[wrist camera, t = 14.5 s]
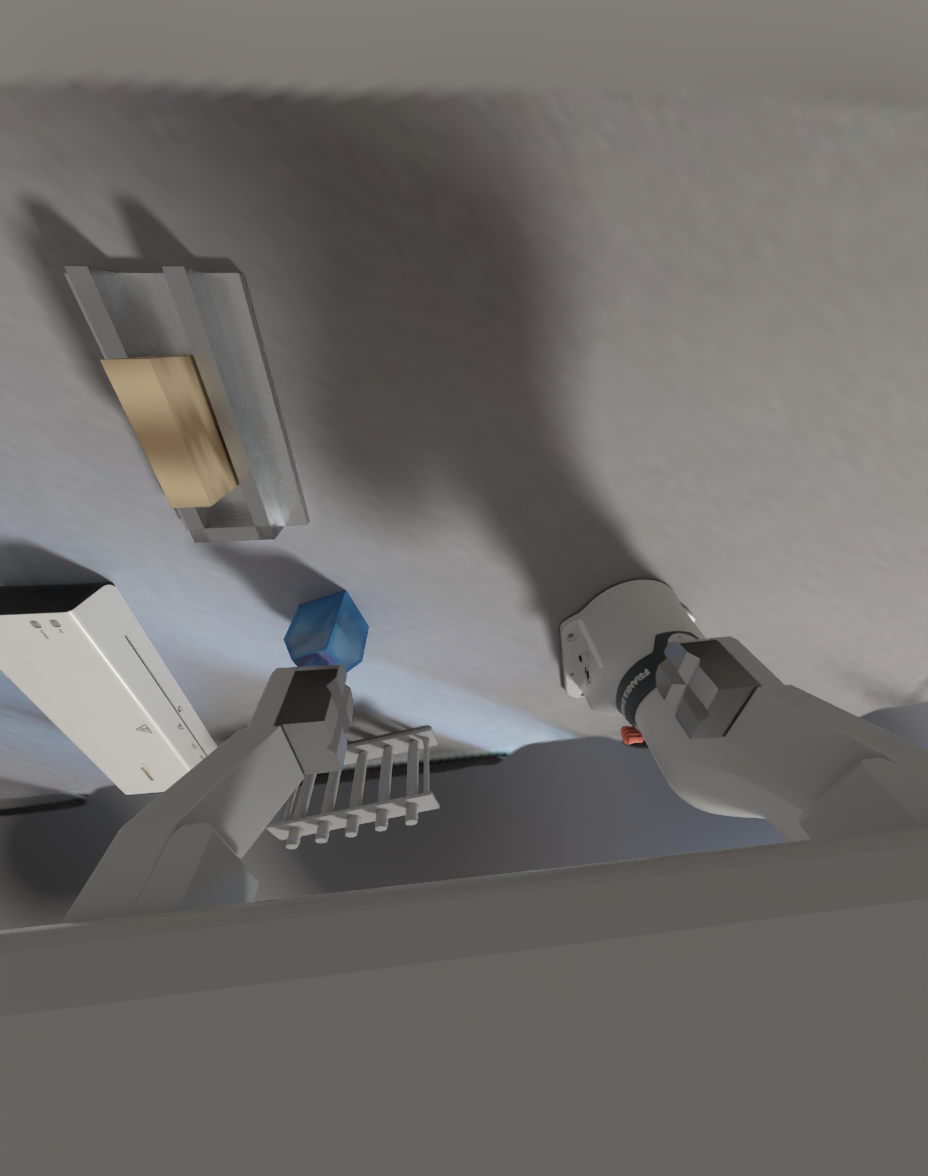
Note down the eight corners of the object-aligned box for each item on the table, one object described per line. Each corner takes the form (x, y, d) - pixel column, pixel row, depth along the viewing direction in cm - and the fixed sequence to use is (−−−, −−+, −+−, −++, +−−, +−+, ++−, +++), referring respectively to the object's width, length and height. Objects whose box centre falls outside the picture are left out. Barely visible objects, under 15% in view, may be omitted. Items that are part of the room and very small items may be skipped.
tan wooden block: (246, 478, 35) (210, 506, 29) (213, 479, 35) (171, 508, 29) (203, 354, 29) (149, 358, 24) (163, 355, 29) (99, 359, 23)
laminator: (222, 751, 60) (204, 789, 55) (143, 757, 59) (116, 796, 54) (112, 576, 41) (68, 610, 36) (-8, 581, 40) (-71, 616, 35)
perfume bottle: (368, 626, 48) (354, 702, 38) (325, 640, 48) (300, 717, 39) (346, 590, 44) (323, 662, 34) (299, 605, 45) (264, 680, 35)
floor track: (309, 520, 39) (299, 537, 36) (191, 526, 38) (169, 543, 35) (244, 275, 28) (220, 266, 24) (74, 274, 27) (25, 266, 24)
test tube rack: (300, 770, 65) (275, 857, 54) (288, 756, 62) (259, 845, 51) (437, 740, 63) (440, 824, 52) (431, 725, 61) (432, 810, 50)
